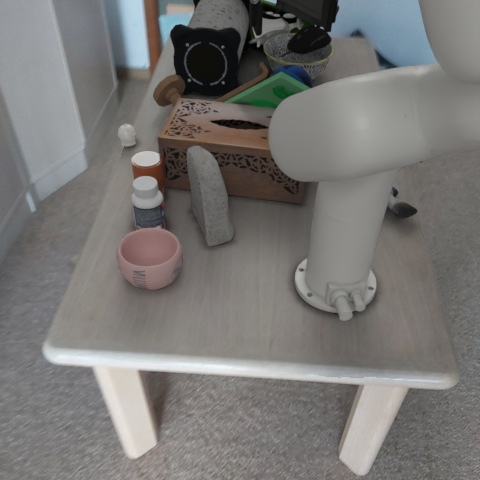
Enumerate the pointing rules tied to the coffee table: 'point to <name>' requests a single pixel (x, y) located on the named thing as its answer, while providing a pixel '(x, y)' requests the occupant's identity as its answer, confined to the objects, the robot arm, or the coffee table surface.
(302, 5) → the motorcycle dashboard
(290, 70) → the bomb
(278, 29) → the figurine
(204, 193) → the decorative stone
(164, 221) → the pill bottle
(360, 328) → the coffee table surface
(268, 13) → the toy tank
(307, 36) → the gaming mouse
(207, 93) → the speaker
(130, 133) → the decorative object set
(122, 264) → the mug
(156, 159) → the orange cylinder
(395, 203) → the fish
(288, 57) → the bowl
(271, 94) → the toy
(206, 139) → the tissue box cover
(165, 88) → the toilet paper hanger
